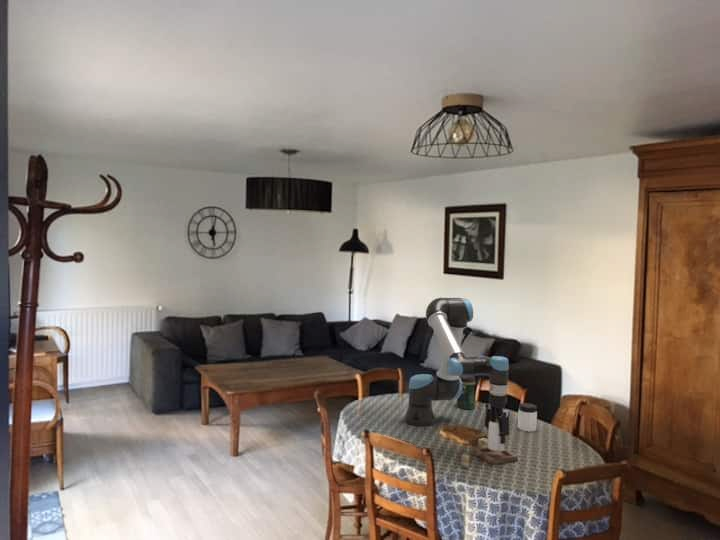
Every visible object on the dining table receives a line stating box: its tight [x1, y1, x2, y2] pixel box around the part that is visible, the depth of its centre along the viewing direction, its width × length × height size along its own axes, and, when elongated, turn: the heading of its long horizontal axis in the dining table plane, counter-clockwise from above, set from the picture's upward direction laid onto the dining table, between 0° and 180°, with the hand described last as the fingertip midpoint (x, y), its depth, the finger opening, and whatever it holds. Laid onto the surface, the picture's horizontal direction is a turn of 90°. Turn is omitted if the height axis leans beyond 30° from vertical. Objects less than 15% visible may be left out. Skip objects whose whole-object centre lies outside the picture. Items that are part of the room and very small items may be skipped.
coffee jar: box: [456, 375, 477, 410], centre depth 314 cm, size 10×8×19 cm
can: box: [487, 419, 503, 451], centre depth 238 cm, size 6×6×12 cm
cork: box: [460, 453, 470, 469], centre depth 227 cm, size 3×3×4 cm
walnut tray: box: [473, 447, 519, 466], centre depth 238 cm, size 13×13×2 cm
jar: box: [517, 402, 538, 433], centre depth 279 cm, size 9×8×12 cm
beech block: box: [477, 437, 488, 449], centre depth 249 cm, size 4×4×4 cm
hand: (495, 447), depth 238 cm, fingers closed on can, 6 cm apart
